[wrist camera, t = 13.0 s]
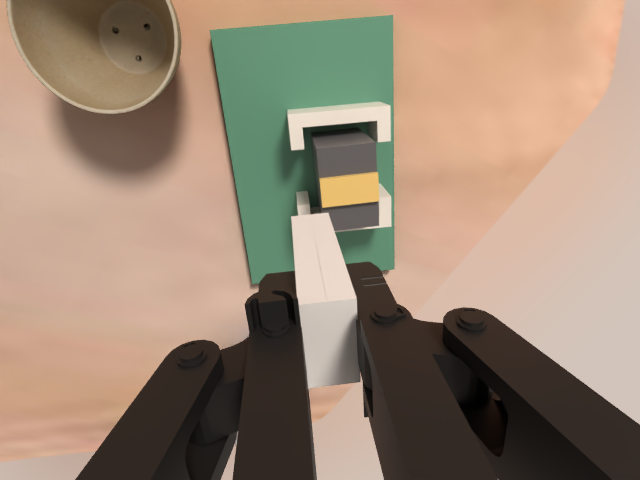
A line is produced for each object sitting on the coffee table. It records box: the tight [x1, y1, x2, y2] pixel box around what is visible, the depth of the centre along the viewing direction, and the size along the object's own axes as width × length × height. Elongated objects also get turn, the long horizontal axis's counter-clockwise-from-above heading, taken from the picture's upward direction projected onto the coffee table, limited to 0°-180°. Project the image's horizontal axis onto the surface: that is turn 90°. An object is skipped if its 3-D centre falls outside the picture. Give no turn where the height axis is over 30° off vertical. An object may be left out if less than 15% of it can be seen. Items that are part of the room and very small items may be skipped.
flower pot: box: [7, 0, 181, 114], centre depth 28 cm, size 10×10×7 cm
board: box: [210, 15, 394, 284], centre depth 33 cm, size 14×22×5 cm, turn 5°
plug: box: [311, 128, 379, 231], centre depth 31 cm, size 4×6×8 cm, turn 5°
